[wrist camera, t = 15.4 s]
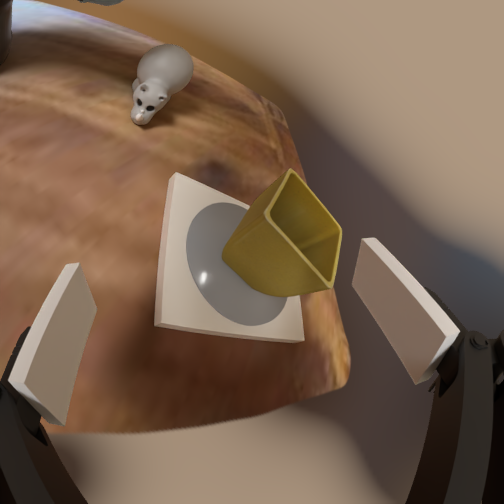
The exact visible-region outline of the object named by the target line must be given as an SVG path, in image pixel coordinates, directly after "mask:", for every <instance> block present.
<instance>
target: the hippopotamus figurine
mask: <svg viewBox="0 0 504 504" xmlns="http://www.w3.org/2000/svg"><path fill="white" fill-rule="evenodd" d="M192 74H193V61H192V58H191V56H190V55H189V53H188V52H187V51H186V50H184V49H183V48H181V47H179V46H177V45H173V44H163V45H159V46H156V47H154V48H152V49H150V50H149V51H148V52H147V53H145V54H144V56H143V57H142V58H141V60H140V62H139V64H138V68H137V78H136V79H135V80H134V82H133V84H132V90H133V92H134V94H133V102H134V107H133V109H132V111H131V119H132V121H133V122H134V123H136V124H138V125H144V124H147V123H148V122H149V121H150V120H151V118H152V117H153V115H154V114H155V113H156V112H157V111H159V110H160V109H162V108H163V107H164V105H165V104H166V103H167V102H168V101H169V100H170V98H171V95H172V94H175V93H177V92H179V91H181V90H182V89H183V88H184V87H185V86H186V85H187V84H188V83H189V81H190V79H191V77H192Z"/></svg>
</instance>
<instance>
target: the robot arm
mask: <svg viewBox="0 0 504 504" xmlns="http://www.w3.org/2000/svg"><path fill="white" fill-rule="evenodd" d="M78 1H80V2H81V3H82V2H83V3H85V2H91V3H96V4H100V5H104V6H109V5H114V4H118V3H120V2H122V1H123V0H78ZM12 2H13V0H0V65H1V64H2V63H3V61H4V60H5V58H6V57H7V55H8V52H9V48H10V44H11V40H12V30H11V25H12ZM352 286H353V288H354V289H355V290H356V292H357V293H358V295H359V296H360V298H361V299H362V301H363V302H364V303H365V305H366V307H367V308H368V309H369V311H370V312H371V314H372V316H373V317H374V319H375V320H376V322H377V323H378V325H379V326H380V328H381V329H382V330H383V332H384V334H385V336H386V337H387V339H388V340H389V342H390V343H391V345H392V347H393V348H394V350H395V352H396V353H397V355H398V356H399V358H400V360H401V361H402V363H403V365H404V366H405V368H406V369H407V371H408V373H409V375H410V376H411V378H412V380H413V381H414V383H415V384H418V383H421V382H423V381H425V380H428V379H430V377H431V376H432V374H433V373H434V371H435V370H437V372H438V373H439V375H438V377H437V378H436V380H435V381H434V382H433V384H432V385H431V386H430V388H429V390H428V391H429V392H431V390H432V389H433V388H434V386H435V391H434V399H433V405H432V410H431V416H430V421H429V426H428V430H427V435H426V439H425V443H424V447H423V451H422V454H421V458H420V462H419V465H418V469H417V472H416V475H415V478H414V481H413V484H412V487H411V490H410V493H409V495H408V498H407V501H406V503H405V504H481V500H482V504H504V380H503V381H502V383H499V380H498V378H499V377H500V376H501V375H502V374H504V330H503V331H502V332H501V333H500V335H499V336H498V338H497V339H487V338H486V337H485V336H484V335H483V334H482V333H479V332H477V331H469V332H468V331H467V330H466V328H465V327H464V326H463V325H462V324H461V322H460V321H459V320H458V319H457V318H456V317H455V315H454V314H453V313H452V312H451V311H450V310H449V309H448V307H447V306H446V305H445V304H444V303H442V301H441V299H440V298H439V297H438V296H437V295H436V294H435V293H434V292H432V291H431V290H429V289H428V288H426V287H425V288H423V287H422V286H421V285H420V284H419V283H418V281H417V280H416V279H415V278H414V277H413V276H412V275H411V274H410V273H409V272H408V271H407V270H406V269H405V268H404V267H403V266H402V264H401V263H400V262H399V261H398V260H397V259H396V258H395V257H394V256H393V255H392V254H391V253H390V252H389V251H388V250H387V249H386V248H385V247H384V246H383V245H382V244H381V243H380V242H379V241H378V240H377V239H376V238H365V239H364V238H363V239H362V240H361V245H360V250H359V255H358V260H357V264H356V269H355V273H354V277H353V282H352ZM96 311H97V307H96V304H95V302H94V299H93V297H92V294H91V292H90V289H89V287H88V284H87V281H86V279H85V276H84V273H83V270H82V267H81V264H80V263H72V264H66V266H65V267H64V269H63V271H62V272H61V274H60V276H59V277H58V279H57V281H56V282H55V284H54V286H53V287H52V289H51V291H50V293H49V294H48V296H47V298H46V300H45V302H44V303H43V305H42V307H41V309H40V311H39V313H38V315H37V317H36V319H35V321H34V323H33V325H32V327H27V328H26V330H25V331H24V332H23V333H22V334H21V335H20V337H19V339H18V341H17V343H16V347H15V348H14V350H13V352H12V355H11V357H10V359H9V361H8V364H7V366H6V368H5V371H4V373H3V376H2V378H1V381H0V504H88V503H87V501H86V500H85V498H84V497H83V496H82V494H81V493H80V491H79V490H78V488H77V487H76V485H75V484H74V482H73V480H72V479H71V477H70V475H69V474H68V472H67V470H66V469H65V467H64V465H63V464H62V462H61V460H60V458H59V456H58V455H57V453H56V451H55V449H54V447H53V445H52V443H51V441H50V439H49V437H48V435H47V433H46V431H45V429H44V427H43V425H42V424H41V423H40V419H41V416H42V417H43V418H44V419H45V420H46V421H47V422H48V423H50V424H55V425H60V426H65V423H66V418H67V413H68V409H69V404H70V400H71V395H72V391H73V387H74V383H75V379H76V375H77V372H78V368H79V365H80V361H81V358H82V354H83V351H84V348H85V344H86V341H87V338H88V335H89V332H90V329H91V326H92V323H93V320H94V317H95V314H96Z"/></svg>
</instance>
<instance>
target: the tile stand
mask: <svg viewBox="0 0 504 504" xmlns="http://www.w3.org/2000/svg"><path fill="white" fill-rule="evenodd" d="M249 208H250V206H249V205H247V204H245V203H242V202H240V201H238V200H236V199H234V198H232V197H230V196H228V195H226V194H223V193H221V192H219V191H217V190H215V189H213V188H210V187H208V186H206V185H204V184H202V183H200V182H197V181H195V180H193V179H191V178H188V177H186V176H184V175H182V174H180V173H177V172H175V173H174V175H173V176H172V177H171V178H170V179H169V184H168V190H167V197H166V204H165V211H164V218H163V226H162V234H161V243H160V252H159V262H158V273H157V286H156V300H155V318H154V326H157V327H163V328H169V329H175V330H181V331H188V332H195V333H202V334H209V335H217V336H225V337H233V338H242V339H252V340H263V341H274V342H287V343H297V342H301V341H305V339H304V329H303V320H302V311H301V303H300V295H298V296H292V297H275V296H270V295H266V294H263V293H261V292H259V291H256V290H254V289H253V288H251V287H250V286H249V285H248V284H247V283H246V282H245V281H244V280H243V279H242V278H241V277H240V276H239V275H238V274H237V273H236V272H234V271H233V270H232V269H231V268H230V267H229V266H228V265H227V264H226V263H225V262H224V261H223V260H222V251H223V248H224V246H225V245H226V243H227V241H228V240H229V239H230V237H231V236H232V234H233V232H234V231H235V229H236V228H237V226H238V225H239V223H240V222H241V220H242V219H243V217H244V215H245V214H246V212H247V211H248V209H249Z"/></svg>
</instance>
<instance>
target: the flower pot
mask: <svg viewBox="0 0 504 504" xmlns="http://www.w3.org/2000/svg"><path fill="white" fill-rule="evenodd" d="M341 239H342V229H341V227H340V226H339V224H338V223H337V222H336V221H335V219H334V218H333V216H332V215H331V214H330V213H329V212H328V210H327V209H326V208H325V207H324V205H323V204H322V203H321V202H320V201H319V199H318V198H317V197H316V196H315V195H314V193H313V192H312V191H311V190H310V188H309V187H308V186H307V185H306V184H305V182H304V181H303V180H302V179H301V178H300V177H299V175H298V174H297V173H296V172H295V171H294V170H293V169H291V168H289V169H288V170H287V171H286V172H285V173H284V174H283V175H282V176H280V177H279V178H278V179H277V180H276V181H275V182H274V183H273V184H271V185H270V186H269V187H268V188H267V189H266V190H265V191H264V192H263V193H262V194H261V195H260V196H259V197H258V198H257V199H256V200H255V201H254V202H253V204H252V205H251V206H250V208H249V209H248V211H247V212H246V214H245V215H244V217H243V219H242V220H241V222H240V223H239V225H238V226H237V228H236V229H235V231H234V232H233V234H232V236H231V237H230V239H229V240H228V241H227V243H226V245H225V246H224V248H223V251H222V260H223V261H224V262H225V263H226V264H227V265H228V266H229V267H230V268H231V269H232V270H233V271H234V272H236V273H237V274H238V275H239V276H240V277H241V278H242V279H243V280H244V281H245V282H246V283H247V284H248V285H249V286H250V287H251V288H253V289H254V290H256V291H259V292H261V293H263V294H266V295H270V296H275V297H292V296H298V295H303V294H309V293H313V292H318V291H323V290H328V289H332V287H333V283H334V279H335V275H336V269H337V263H338V257H339V250H340V244H341Z"/></svg>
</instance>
